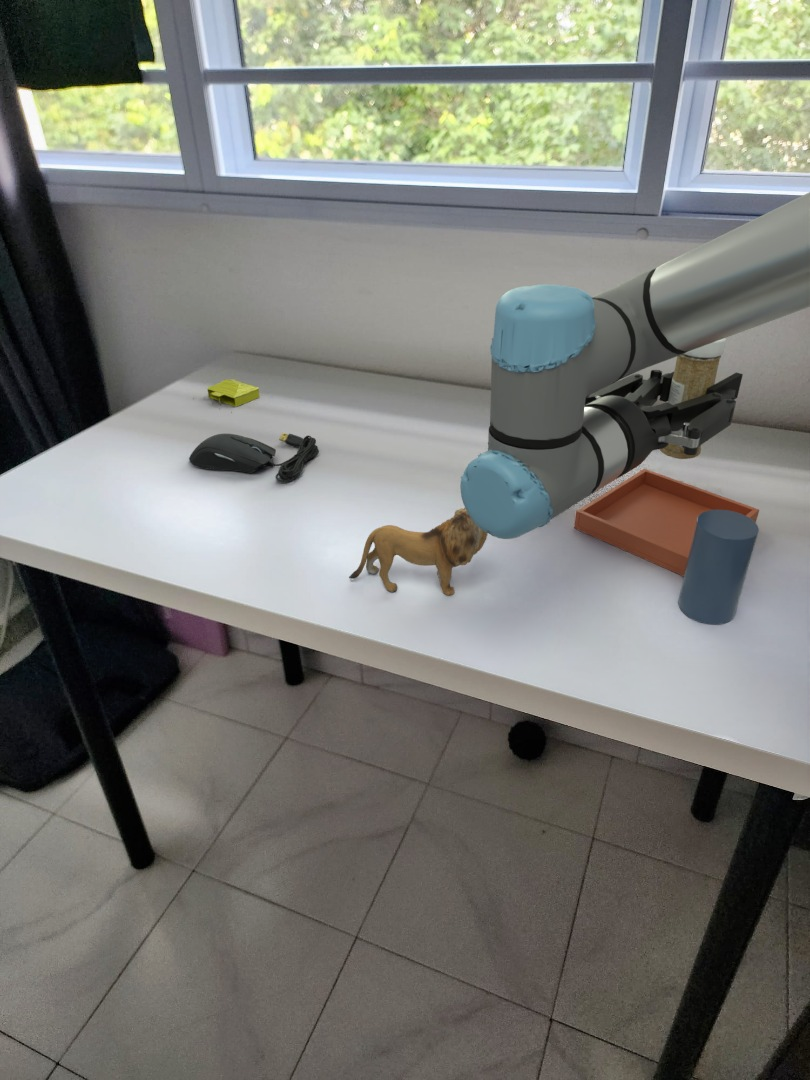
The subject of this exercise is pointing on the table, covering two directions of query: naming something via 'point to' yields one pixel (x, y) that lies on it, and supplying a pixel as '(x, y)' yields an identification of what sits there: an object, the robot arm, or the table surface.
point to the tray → (653, 517)
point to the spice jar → (693, 382)
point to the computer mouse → (251, 454)
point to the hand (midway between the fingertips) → (714, 379)
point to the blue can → (717, 566)
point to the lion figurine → (424, 548)
